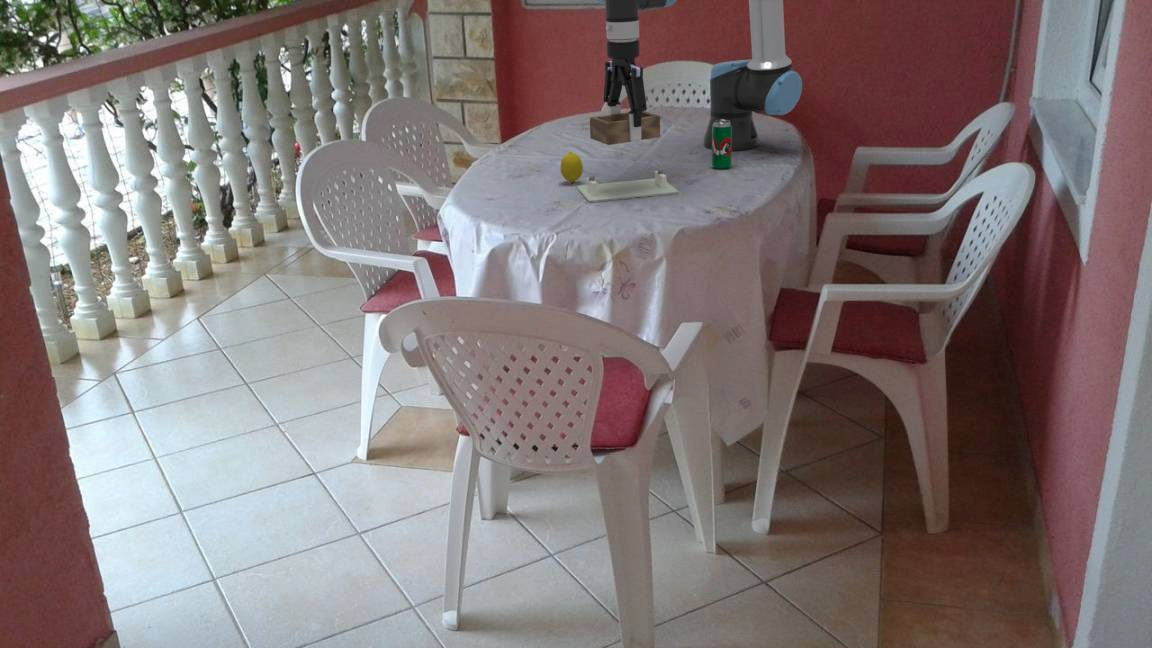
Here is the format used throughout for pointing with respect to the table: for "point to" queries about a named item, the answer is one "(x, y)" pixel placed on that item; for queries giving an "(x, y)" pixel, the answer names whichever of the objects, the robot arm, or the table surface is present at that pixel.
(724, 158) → the soda can
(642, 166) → the table surface
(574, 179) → the lemon
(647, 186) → the wall board
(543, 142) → the table surface
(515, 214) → the table surface
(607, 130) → the brown wooden open box
